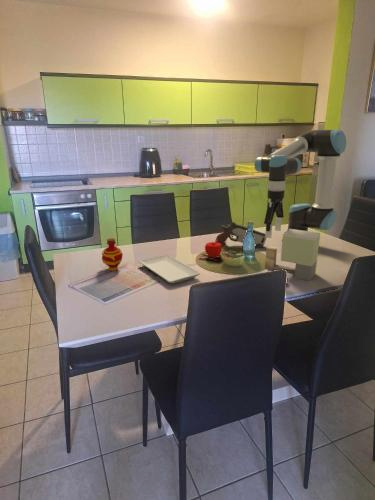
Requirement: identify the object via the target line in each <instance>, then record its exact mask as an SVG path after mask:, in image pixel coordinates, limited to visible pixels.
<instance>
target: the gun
mask: <svg viewBox="0 0 375 500" xmlns="http://www.w3.org/2000/svg"><path fill="white" fill-rule="evenodd" d="M220 228H221V229H223V232H221V233H219V234H217V236H216V238H215V241H214V242H217V243H220V244H221V245H222V246H224V247H225V246H226V243H227V240H228V239H229V240H230V241H232V242H236V243H237V242H239V243H240V244H241V243H242V244H244V243H243V239H244V236H245V234H246V230H247V228H248V227H246V226H243V225H241V224H237V223H236V222H235V221H232V222H231V223H230V224H229V223H228V224H227V226H226V225H223V224H222V225H221V226H220ZM252 230H253V234H254V237H255V244H256V246H255V247H254V248H257V249H260V248H263V247H264V246H265V244H266V240H267V237H265V233H264V232H260V231H259V230H255V229H252ZM234 237H236V238H234Z"/></svg>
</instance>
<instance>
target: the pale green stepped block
mask: <svg viewBox="0 0 375 500" xmlns="http://www.w3.org/2000/svg"><path fill="white" fill-rule="evenodd" d="M320 238H321V232H317V231H316V232H315V231H310V230H308V231H302V230H295V229H289V230H287V229H286V231H285V232H283V234H282V239H281V252H280V253H281V255H280V262H287V263H291V264H295V267H294V268H295V273H294V277H293V278H294V279H299V280H304V281H310V282H311V280H313V279H312V278H313V277H315V274H316V270H317V264H318V263H317V262H318V256H319V255H318V254H319V247H320Z"/></svg>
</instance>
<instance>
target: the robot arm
mask: <svg viewBox="0 0 375 500" xmlns="http://www.w3.org/2000/svg"><path fill="white" fill-rule="evenodd" d="M346 147H347V138H346V134H345V132H344V131H343V130H341V129H313V130H309V131H307V132H304V133H302V134H300V135H298V136H296V137H295V138H293V140H292V141H291V142H290V143H288V144H286V145H284V146H283V147H281V148H279V149H277V150H276V151H274V152H272V153H270V154H268V155H267V156H258V157H257V158H255V161H254V169H255V172H258V173H261V174H263V173H264V174H268V181H267V189H268V190H267V195H266V196H267V198H268V199H269V200H270V201H269V202H268V203H267V209H266V213H265V217H264V221H263V224H265V233H264V234H265V237H267V238H268V239H272V234H273V233H272V232H273V220H274V217H275V215H276V217H275V223H274V231H278V232H281V229H282V219H283V218H284V216H285V215H284V207H283V206H284V205H283V199H284V198H285V190H286V176H289V175H296V174H298V173H299V172H300V171H301V169H302V161H301V160H300V159H299V158H297V156H299V155H303V154H305V153H316V157H317V158H318V160H319V161H318V162H319V164H318V171H317V180H316V189H315V196H314V197H315V199H314V203H313V204H312V205H311V204H310V203H296V204H292V205H291V206H290V207H289V211H288V225H287V229H286V231H287V230H289V229H295V230H302V231H309V228H311V229H314V230H315V229H316V230H320V231H329V230H331V229H332V228H333V227H334V225H335V223H336V221H337V218H338V215H337V211H336V210H334V205H333V204H332V200H333V194H334V193H333V192H334V183H335V177H336V176H335V175H336V166H337V160H338V159H339V158H340V157H341V154H343V153H344V152H345V151H346ZM267 238H266V239H267Z"/></svg>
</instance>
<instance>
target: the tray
mask: <svg viewBox="0 0 375 500" xmlns="http://www.w3.org/2000/svg"><path fill="white" fill-rule="evenodd" d="M138 262H139V263H140V264H141V265H142V266H144V267H146V268H147V269H149V270H150V271H151V272H152V273H154V274H156V275H157V276H158V277H160V278H161V279H163V280H164V281H166V282H167V283H169V284H176V283H181V282H184V281H185V282H186V281H188V280H191V279H193V278H195V277H198V276H200V275H201V272H199V270H196V269H195V268H193V267H191V266H189V265H187V264H186V263H184V262H182V261H180V260H178V259H176V258H174V256H171V255H169V254H161V255H158V256H153V257H148V258H144V259H140V260H138Z"/></svg>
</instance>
